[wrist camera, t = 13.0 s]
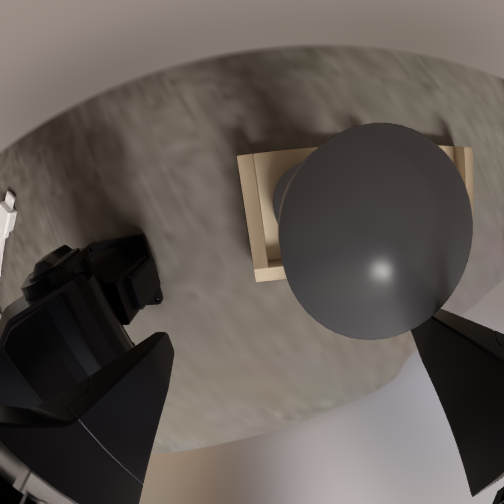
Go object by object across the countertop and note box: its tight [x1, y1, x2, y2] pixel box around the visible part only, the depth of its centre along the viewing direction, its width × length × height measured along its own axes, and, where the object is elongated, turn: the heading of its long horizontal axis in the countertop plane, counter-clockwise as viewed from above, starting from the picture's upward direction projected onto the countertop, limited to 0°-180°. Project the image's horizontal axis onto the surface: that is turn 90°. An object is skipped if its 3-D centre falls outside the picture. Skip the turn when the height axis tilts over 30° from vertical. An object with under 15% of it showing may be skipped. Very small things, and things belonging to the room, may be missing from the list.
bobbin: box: [273, 123, 473, 340], centre depth 13 cm, size 6×6×13 cm
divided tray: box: [237, 145, 473, 282], centre depth 19 cm, size 19×9×3 cm, turn 98°
